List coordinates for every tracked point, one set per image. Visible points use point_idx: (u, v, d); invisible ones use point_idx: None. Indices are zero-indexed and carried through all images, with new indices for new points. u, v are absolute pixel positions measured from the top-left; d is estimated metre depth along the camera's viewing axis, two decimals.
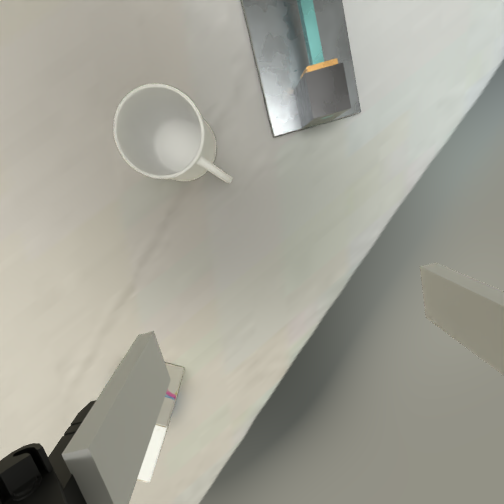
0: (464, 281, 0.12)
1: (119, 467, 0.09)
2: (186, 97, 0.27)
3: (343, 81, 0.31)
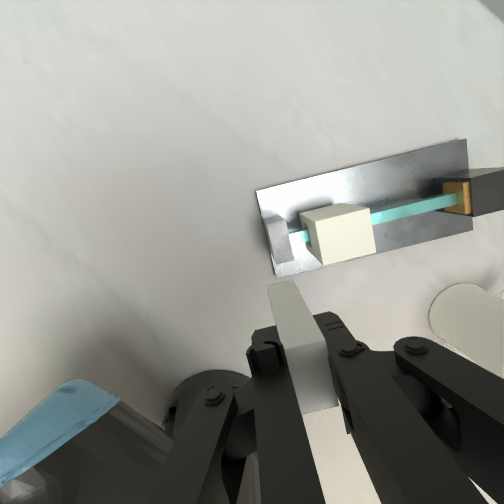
0: (293, 298, 0.14)
1: None
2: None
3: (488, 176, 0.30)
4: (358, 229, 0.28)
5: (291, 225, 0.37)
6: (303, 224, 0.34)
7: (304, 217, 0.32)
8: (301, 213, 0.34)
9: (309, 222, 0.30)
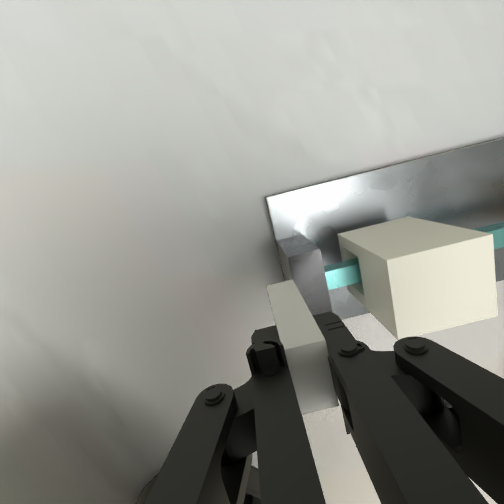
0: (293, 298, 0.14)
1: None
2: None
3: None
4: (469, 273, 0.15)
5: (321, 250, 0.24)
6: (345, 252, 0.21)
7: (351, 243, 0.19)
8: (342, 234, 0.21)
9: (366, 256, 0.17)
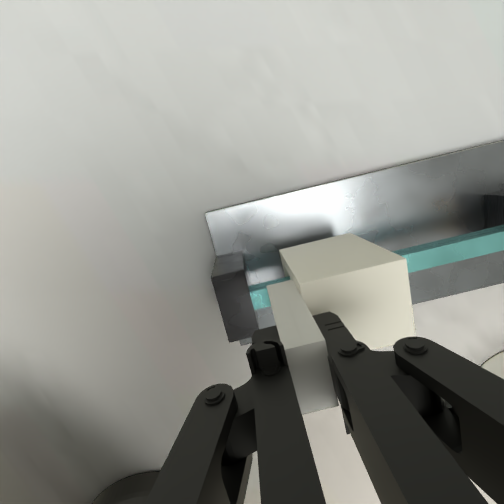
0: (292, 298, 0.14)
1: None
2: None
3: None
4: (384, 297, 0.14)
5: (262, 266, 0.24)
6: (285, 269, 0.21)
7: (285, 261, 0.19)
8: (282, 251, 0.21)
9: (292, 276, 0.17)
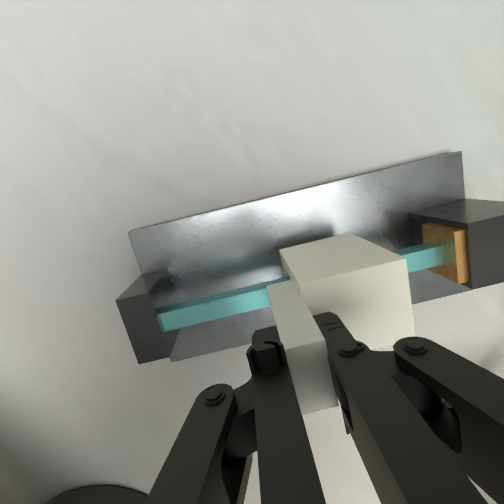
0: (292, 298, 0.14)
1: None
2: None
3: (498, 221, 0.17)
4: (384, 297, 0.14)
5: (188, 284, 0.24)
6: (285, 269, 0.21)
7: (285, 261, 0.19)
8: (282, 251, 0.21)
9: (292, 276, 0.17)
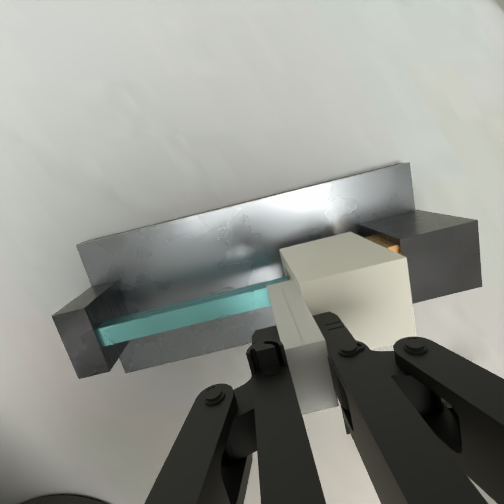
0: (292, 298, 0.14)
1: None
2: None
3: (430, 236, 0.17)
4: (385, 297, 0.14)
5: (139, 296, 0.24)
6: (285, 268, 0.21)
7: (285, 261, 0.18)
8: (282, 250, 0.20)
9: (292, 275, 0.16)
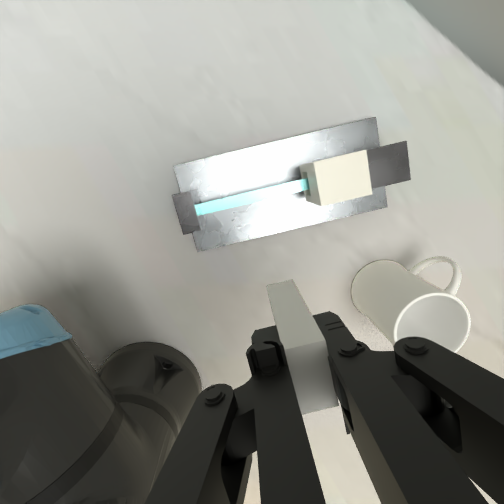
0: (293, 298, 0.14)
1: None
2: (408, 305, 0.31)
3: (381, 149, 0.32)
4: (355, 170, 0.29)
5: (209, 200, 0.38)
6: (303, 175, 0.35)
7: (304, 165, 0.33)
8: None
9: (308, 167, 0.31)
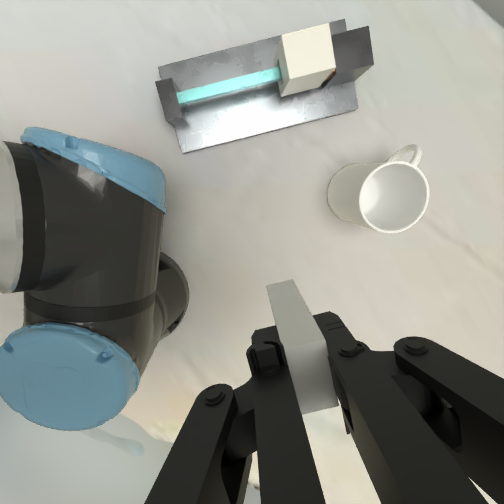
0: (293, 297, 0.14)
1: None
2: (371, 173, 0.34)
3: (345, 34, 0.35)
4: (320, 43, 0.32)
5: None
6: None
7: (276, 54, 0.36)
8: None
9: (279, 49, 0.34)
